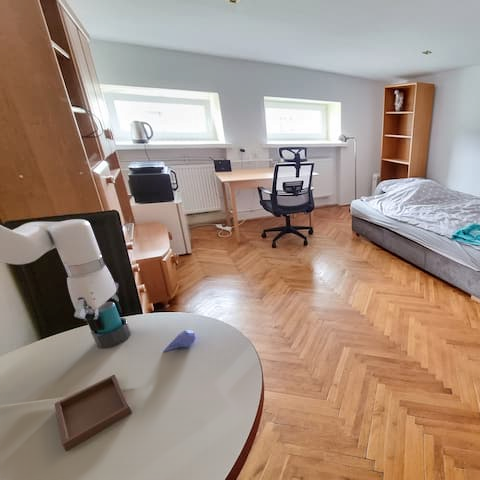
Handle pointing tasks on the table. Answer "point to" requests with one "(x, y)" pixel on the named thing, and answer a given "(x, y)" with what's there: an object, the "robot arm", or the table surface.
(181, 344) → the blue teardrop shape
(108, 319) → the can
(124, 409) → the tray
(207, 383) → the table surface
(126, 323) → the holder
